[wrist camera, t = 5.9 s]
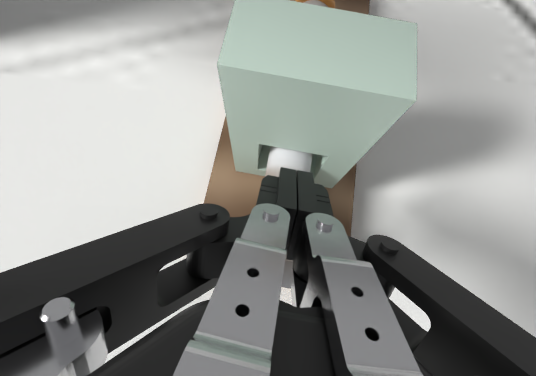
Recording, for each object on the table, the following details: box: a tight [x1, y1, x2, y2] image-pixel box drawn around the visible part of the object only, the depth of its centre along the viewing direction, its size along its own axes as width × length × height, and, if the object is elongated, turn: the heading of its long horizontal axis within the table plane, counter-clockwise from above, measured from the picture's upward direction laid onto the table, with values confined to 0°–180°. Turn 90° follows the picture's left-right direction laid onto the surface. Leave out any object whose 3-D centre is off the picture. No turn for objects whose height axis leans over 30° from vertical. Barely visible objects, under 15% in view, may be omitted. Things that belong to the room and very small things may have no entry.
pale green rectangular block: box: [217, 0, 417, 188], centre depth 17 cm, size 4×8×12 cm, turn 80°
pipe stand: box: [204, 0, 369, 288], centre depth 23 cm, size 34×12×7 cm, turn 170°
